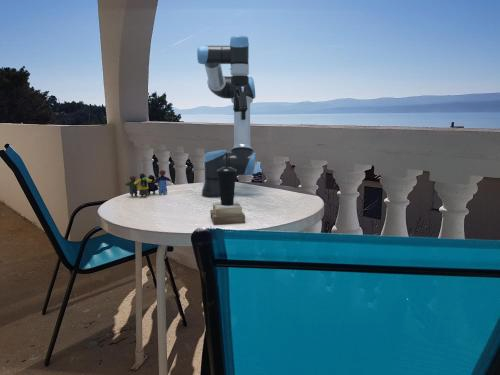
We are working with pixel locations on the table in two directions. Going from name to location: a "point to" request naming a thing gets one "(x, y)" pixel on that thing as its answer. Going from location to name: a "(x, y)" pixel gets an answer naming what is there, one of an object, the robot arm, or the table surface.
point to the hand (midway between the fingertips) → (240, 127)
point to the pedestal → (227, 214)
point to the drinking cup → (226, 184)
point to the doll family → (148, 185)
